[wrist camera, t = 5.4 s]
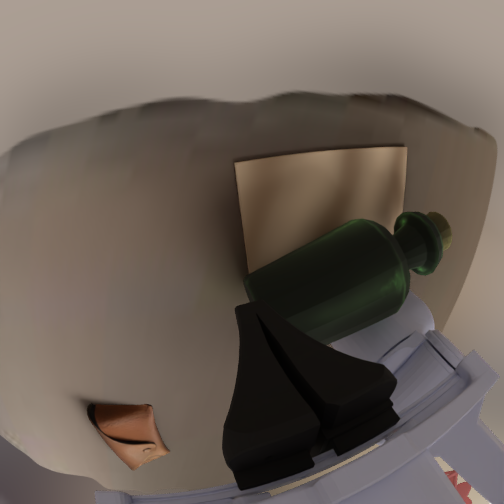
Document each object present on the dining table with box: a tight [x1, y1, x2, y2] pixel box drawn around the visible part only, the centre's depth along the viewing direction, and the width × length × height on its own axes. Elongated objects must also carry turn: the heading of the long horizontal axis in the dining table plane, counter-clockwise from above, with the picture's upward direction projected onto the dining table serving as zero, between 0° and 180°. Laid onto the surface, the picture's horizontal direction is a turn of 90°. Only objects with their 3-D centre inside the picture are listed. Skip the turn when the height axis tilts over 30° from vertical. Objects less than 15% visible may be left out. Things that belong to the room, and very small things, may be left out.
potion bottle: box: [243, 212, 452, 345], centre depth 20 cm, size 8×8×18 cm
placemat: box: [234, 147, 407, 274], centre depth 22 cm, size 16×11×1 cm
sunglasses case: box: [87, 403, 170, 471], centre depth 28 cm, size 18×7×7 cm
